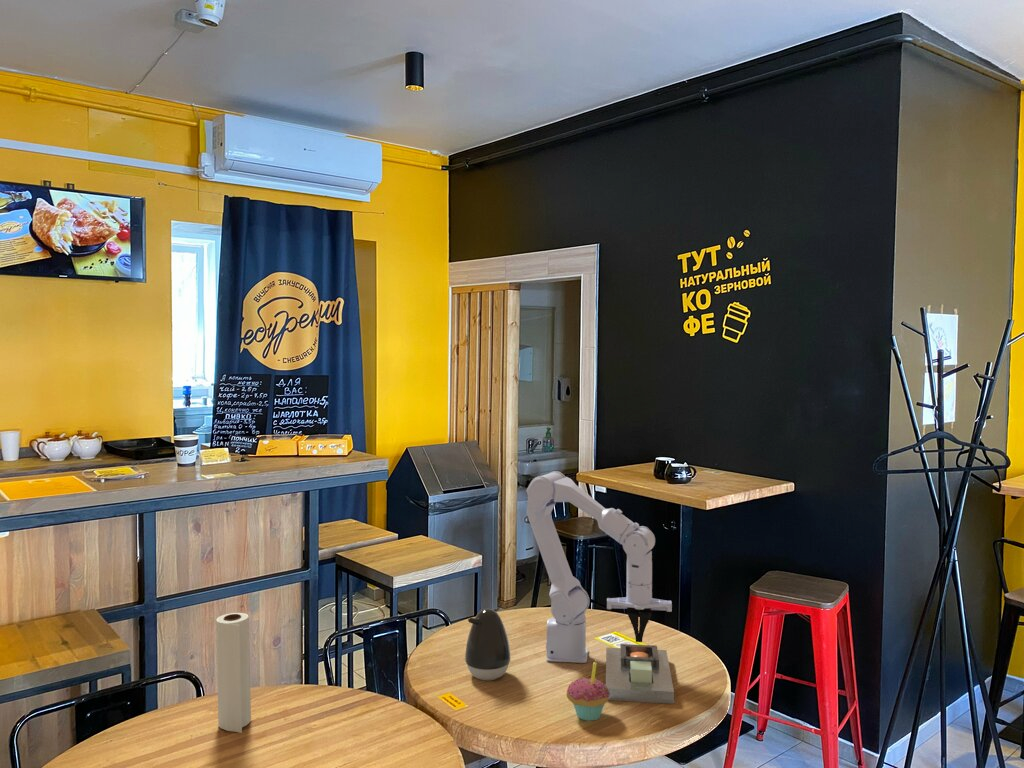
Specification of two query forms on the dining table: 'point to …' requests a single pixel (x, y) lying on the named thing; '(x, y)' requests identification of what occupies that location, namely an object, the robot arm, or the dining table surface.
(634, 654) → the button
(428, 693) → the dining table surface
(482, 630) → the dark grey egg-shaped figure
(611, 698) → the control box
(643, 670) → the pale green block
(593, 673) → the cupcake
